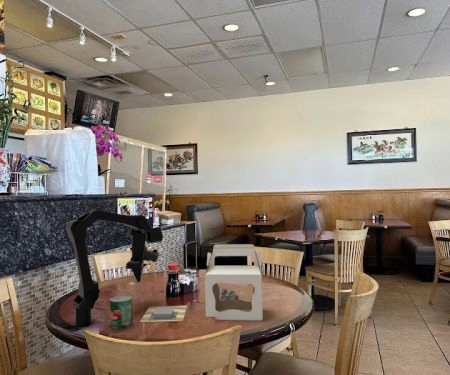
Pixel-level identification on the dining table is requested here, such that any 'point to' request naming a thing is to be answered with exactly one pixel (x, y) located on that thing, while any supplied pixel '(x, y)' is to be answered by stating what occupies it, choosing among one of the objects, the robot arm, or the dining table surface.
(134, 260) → the robot arm
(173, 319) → the board
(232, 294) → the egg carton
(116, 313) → the canned tomato
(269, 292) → the dining table surface
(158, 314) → the tile
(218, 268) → the gable box
